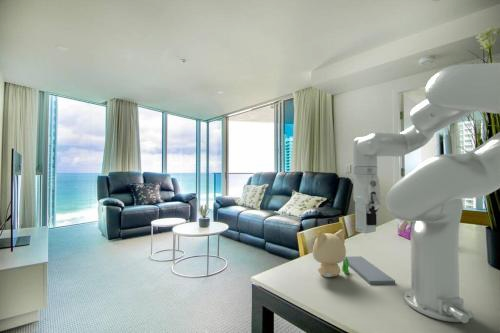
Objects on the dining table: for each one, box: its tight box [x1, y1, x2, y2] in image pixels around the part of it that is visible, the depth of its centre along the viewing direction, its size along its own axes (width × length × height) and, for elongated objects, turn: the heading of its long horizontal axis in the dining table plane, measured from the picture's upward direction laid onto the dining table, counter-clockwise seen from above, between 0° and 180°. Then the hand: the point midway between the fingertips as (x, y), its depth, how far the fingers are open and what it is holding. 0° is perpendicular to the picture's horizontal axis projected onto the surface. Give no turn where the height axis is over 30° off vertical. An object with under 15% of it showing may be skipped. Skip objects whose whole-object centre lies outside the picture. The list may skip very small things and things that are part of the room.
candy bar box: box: [397, 219, 414, 241], centre depth 119 cm, size 11×5×16 cm, turn 179°
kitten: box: [312, 228, 350, 278], centre depth 76 cm, size 15×10×15 cm, turn 109°
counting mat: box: [342, 255, 396, 285], centre depth 80 cm, size 20×8×1 cm, turn 2°
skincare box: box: [354, 197, 377, 234], centre depth 80 cm, size 6×4×12 cm
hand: (365, 222), depth 80 cm, fingers closed on skincare box, 6 cm apart
